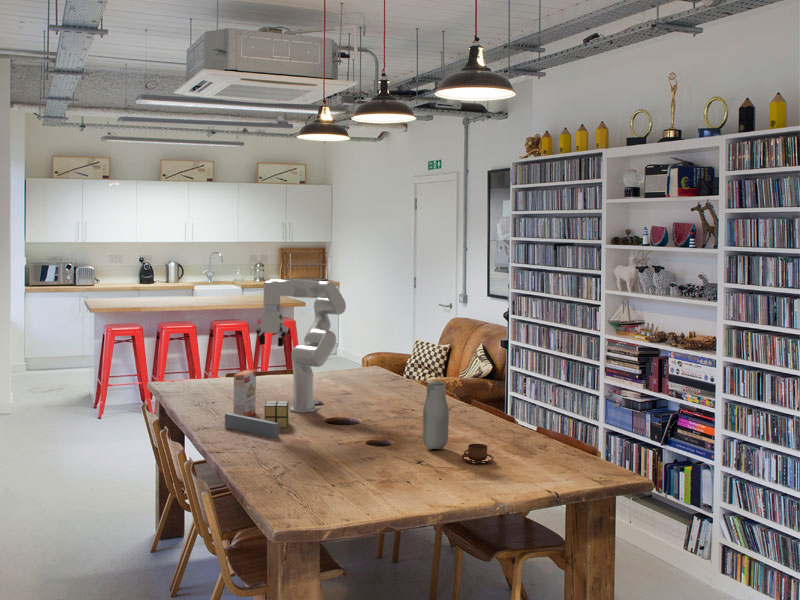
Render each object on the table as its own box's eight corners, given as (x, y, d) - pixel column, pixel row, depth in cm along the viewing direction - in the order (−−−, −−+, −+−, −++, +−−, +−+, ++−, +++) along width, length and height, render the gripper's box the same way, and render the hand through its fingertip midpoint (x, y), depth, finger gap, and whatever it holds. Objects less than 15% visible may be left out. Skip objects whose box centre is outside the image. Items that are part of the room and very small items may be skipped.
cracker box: (245, 420, 377) (245, 375, 375) (232, 419, 378) (232, 374, 377) (256, 413, 391) (256, 370, 389) (244, 412, 392) (244, 369, 390)
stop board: (229, 426, 366) (229, 412, 365) (278, 437, 349) (278, 423, 348) (224, 427, 364) (224, 413, 363) (274, 438, 347) (274, 424, 346)
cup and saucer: (480, 468, 310) (481, 452, 310) (455, 461, 318) (456, 445, 318) (499, 461, 319) (499, 446, 318) (474, 455, 327) (474, 440, 326)
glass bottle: (435, 444, 341) (437, 377, 339) (452, 450, 333) (454, 381, 331) (417, 448, 335) (419, 380, 333) (433, 454, 327) (435, 384, 325)
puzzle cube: (266, 422, 374) (266, 401, 373) (288, 422, 375) (288, 401, 374) (264, 428, 364) (264, 405, 363) (287, 428, 365) (287, 405, 364)
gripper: (292, 308, 375) (292, 345, 377) (260, 306, 382) (259, 343, 383) (283, 309, 368) (283, 347, 370) (251, 307, 375) (250, 344, 377)
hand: (271, 345), depth 377 cm, fingers open, 9 cm apart
